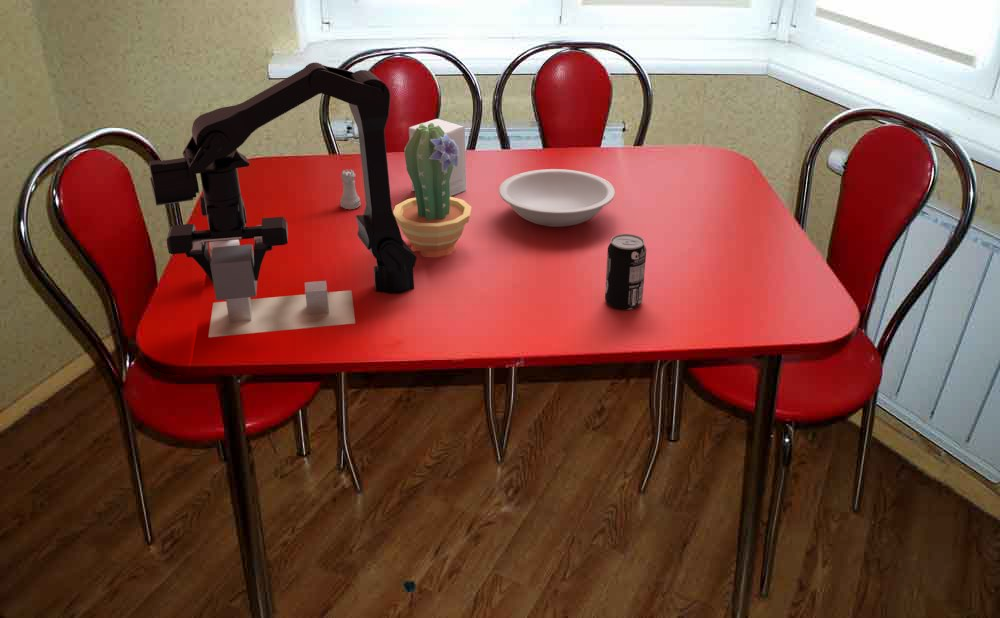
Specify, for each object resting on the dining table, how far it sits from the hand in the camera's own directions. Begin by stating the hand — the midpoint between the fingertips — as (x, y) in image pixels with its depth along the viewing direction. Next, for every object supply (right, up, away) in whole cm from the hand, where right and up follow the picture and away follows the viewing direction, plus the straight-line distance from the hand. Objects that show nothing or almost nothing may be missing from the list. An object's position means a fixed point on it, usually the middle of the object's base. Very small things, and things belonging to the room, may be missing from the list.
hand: (235, 281), depth 161 cm
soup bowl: (+56, +14, +42) cm, 71 cm away
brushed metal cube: (0, -7, +4) cm, 8 cm away
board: (+7, -6, +5) cm, 10 cm away
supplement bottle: (-6, +1, +19) cm, 20 cm away
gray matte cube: (0, -1, +1) cm, 2 cm away
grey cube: (+13, -6, +6) cm, 15 cm away
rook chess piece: (+12, +17, +48) cm, 52 cm away
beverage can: (+66, -4, +9) cm, 67 cm away
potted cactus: (+31, +7, +29) cm, 43 cm away
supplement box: (+30, +22, +55) cm, 67 cm away
